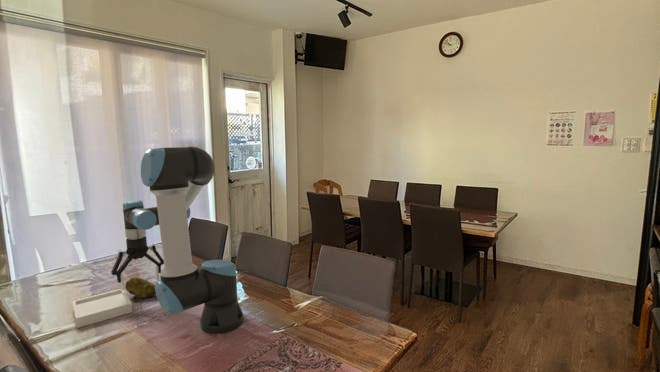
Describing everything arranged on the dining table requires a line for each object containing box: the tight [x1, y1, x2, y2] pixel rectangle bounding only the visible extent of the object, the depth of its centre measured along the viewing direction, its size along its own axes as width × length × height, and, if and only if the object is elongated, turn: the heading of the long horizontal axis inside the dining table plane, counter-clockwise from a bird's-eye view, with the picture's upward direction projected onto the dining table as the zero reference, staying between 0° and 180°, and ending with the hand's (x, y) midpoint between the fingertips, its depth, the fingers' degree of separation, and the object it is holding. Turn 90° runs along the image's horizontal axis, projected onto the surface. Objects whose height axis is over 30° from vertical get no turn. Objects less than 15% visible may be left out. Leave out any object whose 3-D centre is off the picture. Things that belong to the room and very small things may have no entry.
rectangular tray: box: [71, 288, 133, 329], centre depth 143 cm, size 18×18×4 cm
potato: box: [124, 276, 156, 299], centre depth 155 cm, size 8×13×8 cm, turn 66°
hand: (140, 284), depth 155 cm, fingers open, 13 cm apart
